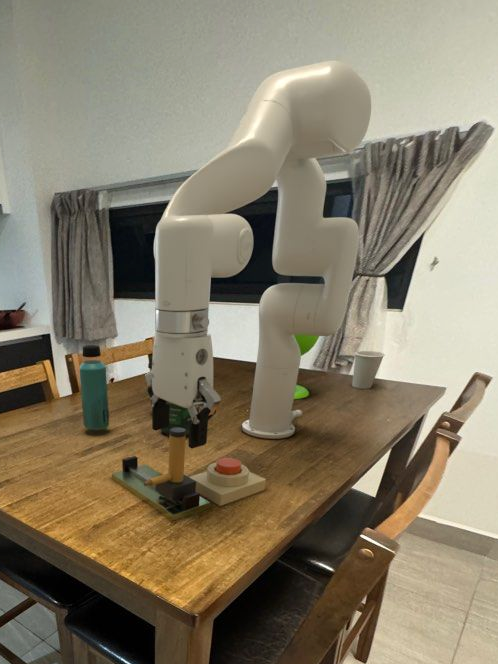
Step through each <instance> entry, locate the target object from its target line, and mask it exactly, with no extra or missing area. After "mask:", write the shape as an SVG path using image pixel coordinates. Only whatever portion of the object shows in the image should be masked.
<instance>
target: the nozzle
mask: <svg viewBox="0 0 498 664" xmlns="http://www.w3.org/2000/svg"><path fill="white" fill-rule="evenodd" d="M168 440H169V441H168V471H167V472H168V473H165V474H163V475H161V476H158V477H154V478H151V479H149V481H146V482H144V486H148V485H150V486H153V485H156V491H157V492H159V494H160V495H162V496H164V497H165V498H167V499H168V500H170V501H171V502H173V503H174V504H178V499H181V498H182V496H184V495H187V494H190V493H193V492H195V491H196V481H195V480H193V479H191V478H189V477H190V476H187V475H186V474H184V473H185V457H186V456H185V455H186V454H185V453H186V430H185V429H184V428H180V427H175V428H171V429H170V436H169V439H168Z"/></svg>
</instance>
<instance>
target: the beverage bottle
mask: <svg viewBox="0 0 498 664" xmlns="http://www.w3.org/2000/svg"><path fill="white" fill-rule="evenodd" d="M101 356H102V354H101V347H100V346H99V345H96V344H89V345H83V346H82V357H83V358H97V357H101ZM78 370H79V380H80V391H81V393H80V394H81V405H82V406H81V407H82V420H83V425H84V428H86V429H88V430H92V431H99V430H104V429H107V428H108V427H109V425H110V414H109V395H108V383H107V366H106V364H105V363H104V362H103V361H101V360H98V359H90V360H83V362H82V363H81V364H80V365H79V368H78Z"/></svg>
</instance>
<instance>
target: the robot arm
mask: <svg viewBox="0 0 498 664" xmlns="http://www.w3.org/2000/svg"><path fill="white" fill-rule="evenodd" d="M371 115H372V95H371V92H370V87H369V86H368V84H367V83H366V81H365V80H364V79H363V78H362V77H361V75H359V73H358V72H357V71H356V70H355V69H354V68H353V67H352V66H351V65H350V64H348V63H346V62H343V61H341V60H334V59H333V60H325V61H321V62H316V63H311V64H308V65H301V66H299V67H294V68H288V69H284V70H281V71H278V72H277V71H276V72H275V73H273V74H271V75H269V76H268V77H266V78H265V79H264V80H263V81H262V82H261V83H260V84H259V86H258V87H257V89H256V91H255V92H254V94H253V96H252V98H251V100H250V102H249V103H248V106H247V108H246V110H245V111H244V114H243V115H242V118H241V119H240V122H239V124H238V125H237V127H236V129H235V131H234V133H233V135H232V136H231V139H230V141H229V143H228V145H227V147H226V148H225V149H224V150H222V151H221V152H219V153H218V154H217V155H215V156H214V157H212V158H211V159H209V161H208V162H206V163H205V164H204V165H203V166H202V167H200V168H199V169H198V170H196V171H195V172H194V173H193V174H192V175H190V176H189V177H188V178H187V179H186V180H185V181H184V182H183V183H182V184H181V185H180V186H179V187H178V188H177V190H176V191H175V192H174V194H173V196H172V197H171V198H170V200H169V202H168V204H167V206H166V208H165V209H164V211H163V214H162V216H161V218H160V220H159V221H158V222H157V224H156V226H155V235H154V239H153V257H154V268H155V269H154V274H155V275H154V276H155V277H154V278H155V279H154V281H155V282H154V283H155V285H154V286H155V287H154V288H155V290H154V295H155V296H154V298H155V299H154V303H155V305H154V307H155V309H154V310H155V313H154V315H155V316H154V317H155V321H154V324H155V325H154V327H155V328H154V329H155V332H154V338H153V348H152V356H153V358H152V371H151V372H150V371H149V372H146V373H145V375H144V378H145V383H146V387H147V393H148V395H149V397H150V400H149V404H150V406H151V422H152V425H151V427H152V430H153V431H155V432H156V431H159V430H160V431H161V429H163V428H167V427H169V413H170V404H168V403H167V401H168V402H171V403H173V404H176V405H178V406H181V407H184V408H187V409H188V412H189V414H190V416H191V419H192V421H193V422H192V423H190V424H189V435H188V444H187V445H188V448H189V449H196V448H199V447H202V446H205V445H207V441H208V428H209V427H208V426H209V425H208V424H209V421H211V420H212V417H214V415H216V413H217V409H218V408H219V405H220V403H221V402H222V401H221V400H222V398H221V396H220V394H219V393H218V392H217V391H216V390H215V389H214V350H213V343H212V342H213V341H212V336H211V334H210V333H208V332H209V325H210V319H209V313H210V301H211V300H210V298H211V297H210V296H211V281H212V280H211V279H212V278H231V277H233V276H235V275H238V274H239V273H240V272H241V271H243V270H244V269H245V267H246V266H247V265H248V263H249V261H250V259H251V257H252V253H253V249H254V234H253V229H252V227H251V225H250V223H249V222H248V221H247V220H246V219H245V218H244V217H243V216H241V215H238V214H236V213H229V212H232V211H234V210H237V209H240V208H242V207H244V206H246V205H248V204H250V203H252V202H254V201H256V200H258V199H259V198H261V197H263V196H264V195H266V194H267V193H268V192H269V191H270V189H271V188H272V187H273V185H274V184H275V181H276V185H277V205H276V207H277V208H276V217H275V224H274V225H275V226H274V235H273V243H272V255H271V263H272V268H273V270H274V272H276V274H279V275H282V276H291V277H292V276H293V277H322V278H323V281H324V283H305V282H303V283H302V282H301V283H300V282H285V283H284V282H283V283H277V284H274V285H271V286H269V287H268V288H267V289H266V290H264V292H263V294H262V295H261V297H260V299H259V304H258V347H257V355H256V363H255V364H256V366H255V371H254V372H255V373H254V379H253V388H252V395H251V403H250V410H249V418H248V419H247V420H245V421H243V422H242V424H241V430H242V432H244V433H245V434H247V435H249V436H252V437H255V438H261V439H268V440H269V439H270V440H275V439H277V440H278V439H286V438H289V437H291V436H292V435H294V434H295V430H296V426H295V425H294V424H293V423H292V421H294V420H295V419H299V418H301V417H302V416H303V411H302V410H301V409H295V410H293V405H294V400H295V399H294V394H295V388H296V385H297V382H298V378H299V377H298V376H299V371H300V366H301V360H302V356H301V352H300V348H299V346H298V343H297V341H296V339H295V337H294V335H298V334H299V335H312V336H319V337H329V336H333V335H334V334H336V333H338V331H339V330H340V328H341V326H342V324H343V322H344V319H345V315H346V311H347V306H348V303H349V297H350V292H351V287H352V281H353V277H354V272H355V267H356V262H357V257H358V251H359V243H360V230H359V226H358V223H357V222H356V220H354V219H353V218H351V217H345V216H344V217H343V216H342V217H341V216H340V217H339V216H338V217H324V206H325V200H326V199H325V198H326V193H327V181H326V177H325V174H324V172H323V169H322V167H321V164H319V162H318V160H317V159H318V158H326V157H335V156H343V155H344V156H345V155H348V154H350V153H353V152H354V151H356V149H357V148H359V146H360V145H361V144H362V142H363V140H364V139H365V137H366V134H367V132H368V128H369V125H370V121H371ZM193 400H196V401H195V402H193ZM166 403H167V404H166ZM152 406H154V407H152ZM196 407H199V414H198V413H197V410H196Z"/></svg>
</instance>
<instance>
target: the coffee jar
mask: <svg viewBox="0 0 498 664" xmlns="http://www.w3.org/2000/svg"><path fill="white" fill-rule="evenodd" d="M195 401H196V400H193V402H195ZM167 403H168V404H170V413H169V427H167V428H163V429H160V431H161V432H162V433H164V434H166V435H167V436H169V437H170V429H171V428H175V427H180V428H184V429H185V430H186V436H189V424H190V423H192V422H193V421H192V419H191V416H190V414H189V412H188V409H187V408H184V407H181V406H178V405H176V404H173V403H171V402H168V401H167ZM167 403H166V404H167ZM196 410H197V413H198V414H199V413H200V408H199V407H196Z"/></svg>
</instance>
